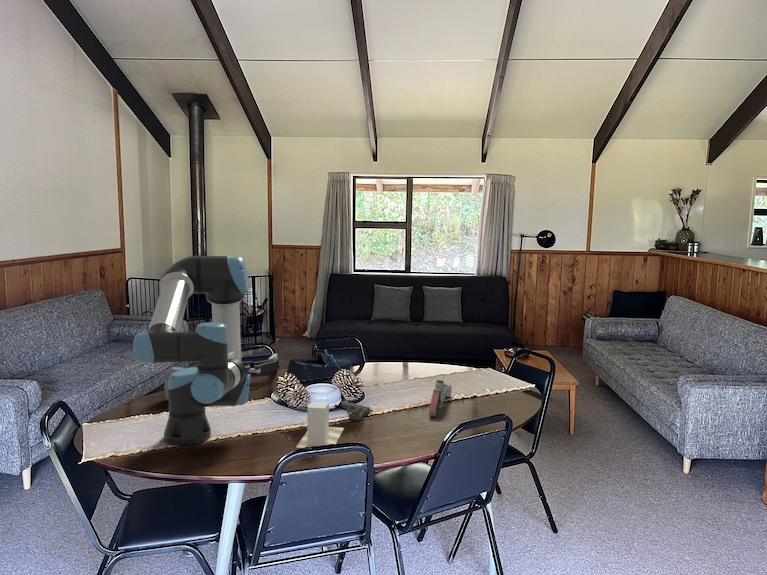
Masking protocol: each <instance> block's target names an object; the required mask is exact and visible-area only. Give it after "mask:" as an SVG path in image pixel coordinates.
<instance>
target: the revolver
mask: <svg viewBox="0 0 767 575" xmlns="http://www.w3.org/2000/svg"><path fill="white" fill-rule="evenodd" d="M434 385H435V386H434V388H433V390H432V391H433V392H432V395H431V399H430V405H429V411H428V415H429V417H433V418H437V417H438V415H439V410H440V407H443V404H444V401H445V399H446V398H451V397H452V389H453V388H452V384H451V385H450V384H446V383H445V382H444V380H442V379H441V380H440V379H436V382H435V384H434Z"/></svg>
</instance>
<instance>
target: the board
mask: <svg viewBox="0 0 767 575" xmlns="http://www.w3.org/2000/svg"><path fill="white" fill-rule="evenodd" d="M344 430H345V428H344V427H335V426H329V440H328V441H327V443H326V445H329V444H335V445H336V444H337V442H338V441H339V439H340V437H341V435H342V433H343V431H344ZM311 446H316V445H307V431H306V432H305V434H304V435H303V437H302V438H301V439H300V441H299V442H298V443H297V445H296V448H298V449H300V448H301V449H306V448H305V447H311Z"/></svg>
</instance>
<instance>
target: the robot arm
mask: <svg viewBox="0 0 767 575" xmlns="http://www.w3.org/2000/svg"><path fill="white" fill-rule="evenodd" d="M248 277H249V276H248V270H247V265H246V262H245V260H244V258H243V257H241V256H232V255H226V256H225V255H223V256H222V255H213V256H212V255H192V256H187V257H184V258H182V259H180V260H177V261H176V262H174V263H173V264H171V265H170V266H169V268H167V269H166V270H165V271H164V273H163V274H162V276H161V278H160V282H159V290H160V293H159V296H158V299H157V302H156V306H155V308H154V312H153V314H152V317H151V320H150V323H149V326H148V328H147V331H144V332H143V331H141V332H138V333H135V335H134V337H133V341H132V342H133V344H132V347H133V348H132V352H133V359H134V360H135V361H136V362H137V363H143V364H144V363H146V364H148V363H150V364H157V363H158V364H161V363H177V362H178V363H183V362H184V363H185V362H188V363H189V362H196V366H191V367H186V368H184V369H181V370H178V371H176V372H174V373H172V374H171V375H170V376H169V380H168V397H169V401H168V419H167V422H166V425H165V428H164V431H163V441H164V440H165V441H166V442H168V443H167V444H169V443H170V444H169V445H173V444H175V445H174V446H188V445H189V446H190V445H195V444H199V443H202V442H204V441H207V440H208V439H210V437H211V436H212V431H211V429H212V428H211V426H210V423H209V421H208V417H207V413H206V408H210V407H211V408H213V407H215V408H216V407H236V406H243V405H245V404H247V402H248V399H249V392H250V390H249V389H250V384H251V380H250V379H251V374H252V375H253V374H254V376H256V377H258V376H260V375H262V374H265V373H269V372H272V371H275V370H276V371H277V370H279V369H280V360H279V359H278V353H274V354H272V355H271V356H269V357H268V359H265V360H259V361H253V360H249V361H242V348H241V347H242V345H241V344H242V341H241V312H240V311H241V310H240V309H241V308H240V303H241V302H242V301H243V300H244V298H245V295H246V294H248V293H249V289H250V288H249V286H250V285H249V284H250V283H249V278H248ZM193 294H194V295H195V294H199V295H201V294H202V295H205V297H206V300H207V302H208V303H209V304H211V317H212V321H209V322H201V323H199V324H197V325H196V328H195V331H194V330H192V331H189V330H188V331H186V330H185V331H181V326H182V324H183V320H184V315H185V311H186V307H187V302H188V299H189V298H190V297H191V296H192V295H193ZM165 441H164V442H165ZM166 442H165V443H166Z"/></svg>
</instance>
